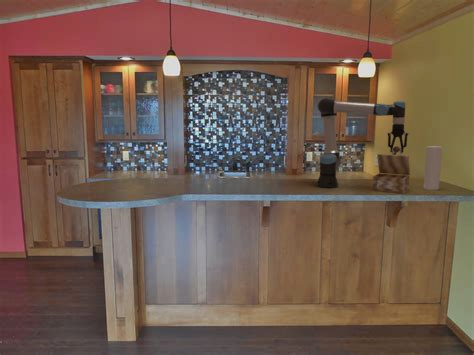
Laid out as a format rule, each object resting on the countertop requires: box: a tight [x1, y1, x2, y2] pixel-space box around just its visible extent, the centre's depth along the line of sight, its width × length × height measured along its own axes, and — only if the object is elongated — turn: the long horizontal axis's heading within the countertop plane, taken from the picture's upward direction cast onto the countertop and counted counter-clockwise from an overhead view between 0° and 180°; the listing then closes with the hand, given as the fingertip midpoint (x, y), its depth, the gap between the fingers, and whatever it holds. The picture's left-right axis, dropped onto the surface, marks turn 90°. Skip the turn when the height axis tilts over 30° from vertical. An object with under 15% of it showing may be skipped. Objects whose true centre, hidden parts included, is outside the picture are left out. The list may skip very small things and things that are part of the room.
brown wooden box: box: [371, 172, 410, 194], centre depth 239 cm, size 20×16×10 cm
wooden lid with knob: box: [376, 145, 411, 176], centre depth 244 cm, size 20×16×14 cm
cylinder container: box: [423, 145, 443, 191], centre depth 241 cm, size 9×9×30 cm
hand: (396, 157), depth 246 cm, fingers closed on wooden lid with knob, 4 cm apart
